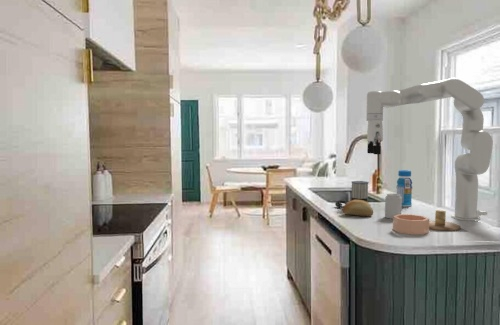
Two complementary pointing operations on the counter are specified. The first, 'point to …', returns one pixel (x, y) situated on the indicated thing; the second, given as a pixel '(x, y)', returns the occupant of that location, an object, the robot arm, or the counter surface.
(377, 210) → the counter surface
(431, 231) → the mat
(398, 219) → the bowl
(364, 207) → the bread roll
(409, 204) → the beverage bottle
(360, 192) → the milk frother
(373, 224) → the counter surface
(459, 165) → the robot arm
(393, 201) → the can
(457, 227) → the lid
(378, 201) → the counter surface
